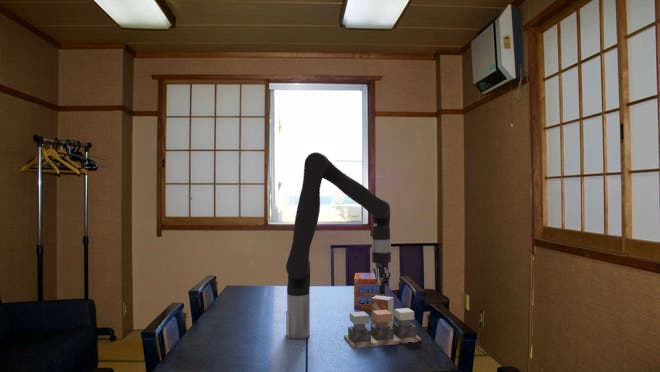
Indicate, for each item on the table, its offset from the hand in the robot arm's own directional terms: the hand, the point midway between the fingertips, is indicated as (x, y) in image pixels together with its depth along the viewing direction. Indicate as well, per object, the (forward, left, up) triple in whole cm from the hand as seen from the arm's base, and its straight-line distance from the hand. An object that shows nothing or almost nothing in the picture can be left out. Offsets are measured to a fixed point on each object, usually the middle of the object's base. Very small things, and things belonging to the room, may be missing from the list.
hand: (381, 294), depth 183 cm
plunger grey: (-10, 0, -14) cm, 17 cm away
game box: (+13, +50, -19) cm, 55 cm away
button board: (0, 0, -18) cm, 18 cm away
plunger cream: (+9, 0, -14) cm, 17 cm away
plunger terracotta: (0, 0, -14) cm, 14 cm away
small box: (+6, +15, -18) cm, 24 cm away
